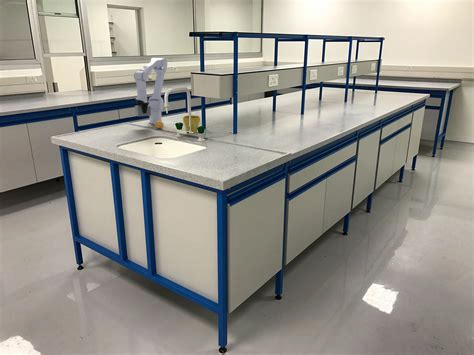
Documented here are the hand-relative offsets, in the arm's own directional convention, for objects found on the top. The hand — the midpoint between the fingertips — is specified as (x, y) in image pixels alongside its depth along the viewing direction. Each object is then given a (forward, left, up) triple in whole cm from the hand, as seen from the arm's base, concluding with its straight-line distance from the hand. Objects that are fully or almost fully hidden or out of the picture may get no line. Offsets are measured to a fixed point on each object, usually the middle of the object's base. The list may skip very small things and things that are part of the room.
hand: (143, 112), depth 241 cm
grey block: (0, 0, -2) cm, 2 cm away
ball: (+7, +8, -7) cm, 13 cm away
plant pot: (+27, +22, -10) cm, 36 cm away
